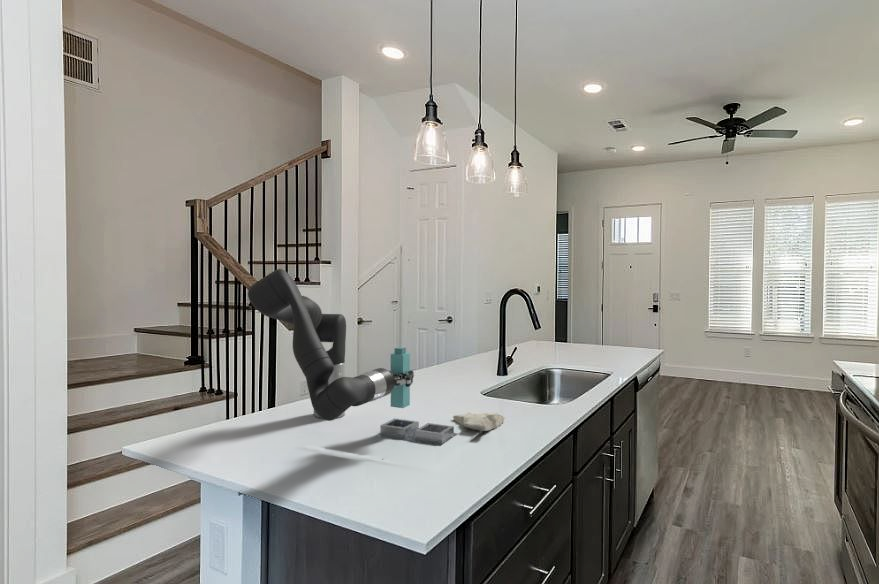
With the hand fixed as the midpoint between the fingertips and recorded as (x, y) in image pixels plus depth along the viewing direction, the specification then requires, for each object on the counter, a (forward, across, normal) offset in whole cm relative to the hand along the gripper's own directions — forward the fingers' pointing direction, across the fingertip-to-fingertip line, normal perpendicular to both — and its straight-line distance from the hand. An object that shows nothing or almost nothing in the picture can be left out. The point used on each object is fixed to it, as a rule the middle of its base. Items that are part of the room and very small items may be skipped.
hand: (404, 373), depth 151 cm
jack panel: (-3, -6, +18) cm, 19 cm away
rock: (+15, -16, +18) cm, 28 cm away
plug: (-3, 0, +9) cm, 9 cm away
